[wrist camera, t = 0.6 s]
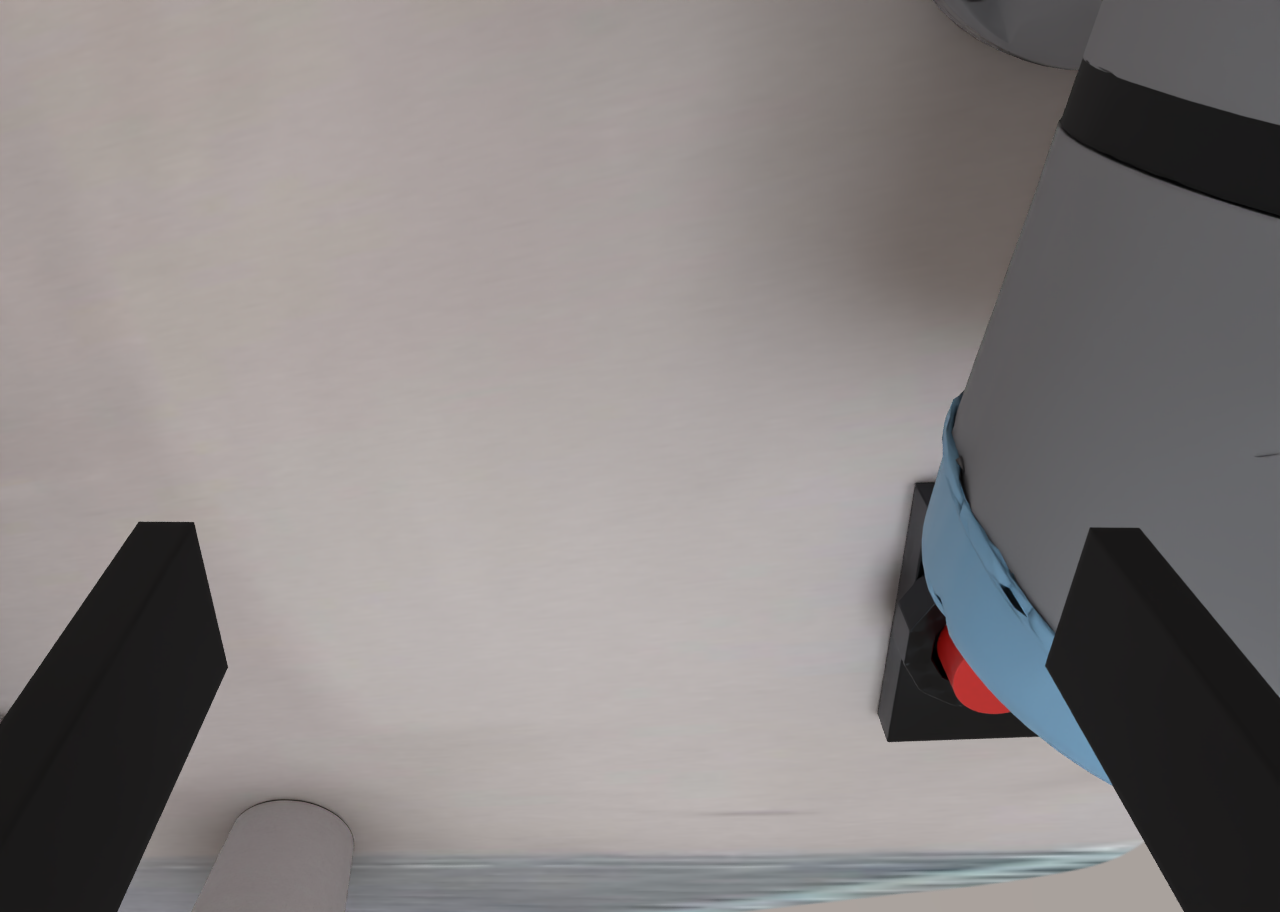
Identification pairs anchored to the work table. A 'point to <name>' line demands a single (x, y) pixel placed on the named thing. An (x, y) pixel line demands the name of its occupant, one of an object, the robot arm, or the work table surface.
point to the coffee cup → (281, 862)
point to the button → (966, 679)
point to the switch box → (927, 661)
